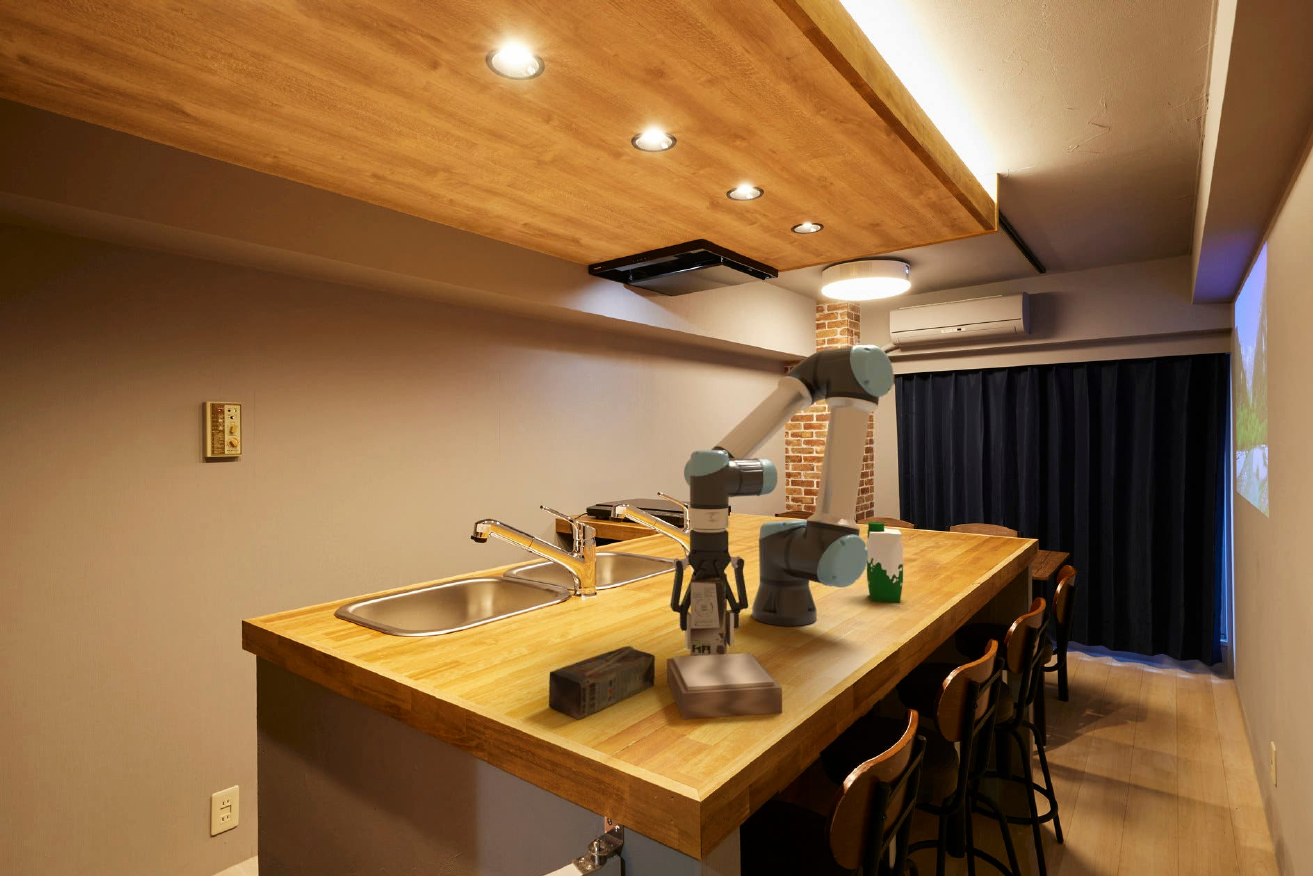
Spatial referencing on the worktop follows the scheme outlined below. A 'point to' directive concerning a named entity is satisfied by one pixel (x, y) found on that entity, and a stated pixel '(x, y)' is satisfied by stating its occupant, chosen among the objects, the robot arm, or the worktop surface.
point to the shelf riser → (722, 686)
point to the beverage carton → (600, 681)
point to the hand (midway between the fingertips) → (709, 645)
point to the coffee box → (708, 617)
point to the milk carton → (884, 563)
